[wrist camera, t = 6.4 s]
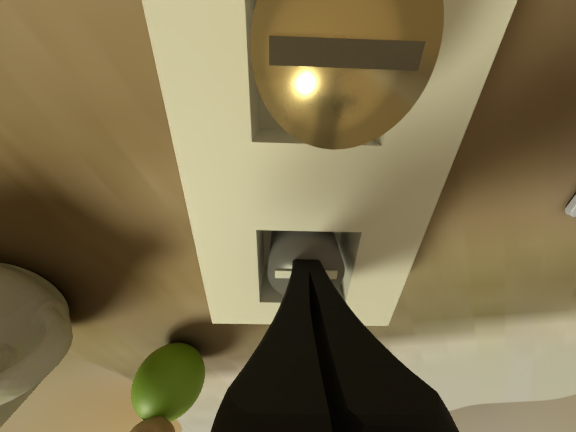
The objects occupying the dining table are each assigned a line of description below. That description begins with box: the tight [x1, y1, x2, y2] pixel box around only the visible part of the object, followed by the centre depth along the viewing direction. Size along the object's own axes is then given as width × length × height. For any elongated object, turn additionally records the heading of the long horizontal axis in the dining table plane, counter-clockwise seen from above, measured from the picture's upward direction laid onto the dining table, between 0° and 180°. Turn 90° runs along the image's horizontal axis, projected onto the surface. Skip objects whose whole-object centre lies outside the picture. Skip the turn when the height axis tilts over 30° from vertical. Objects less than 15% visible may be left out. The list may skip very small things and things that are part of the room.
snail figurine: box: [130, 343, 205, 432], centre depth 16 cm, size 5×6×12 cm
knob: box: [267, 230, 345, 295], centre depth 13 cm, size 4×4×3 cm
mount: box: [142, 0, 517, 326], centre depth 9 cm, size 11×27×4 cm, turn 178°
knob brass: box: [250, 0, 444, 150], centre depth 6 cm, size 4×4×3 cm
